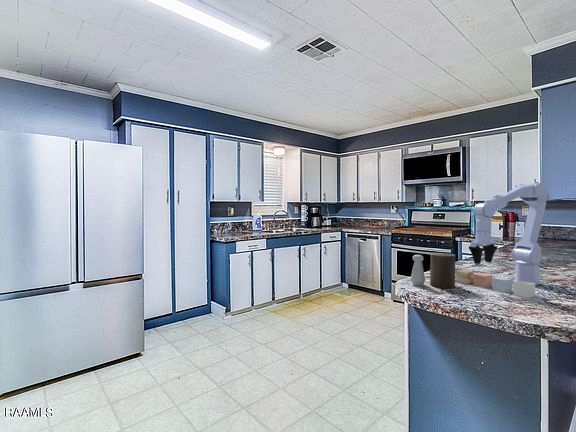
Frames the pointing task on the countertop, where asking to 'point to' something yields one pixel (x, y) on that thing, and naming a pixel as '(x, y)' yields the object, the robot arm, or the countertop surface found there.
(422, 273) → the salt shaker
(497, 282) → the blue-grey block
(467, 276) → the maple block
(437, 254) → the pillar candle
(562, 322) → the countertop surface
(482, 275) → the terracotta block
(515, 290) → the cream block
